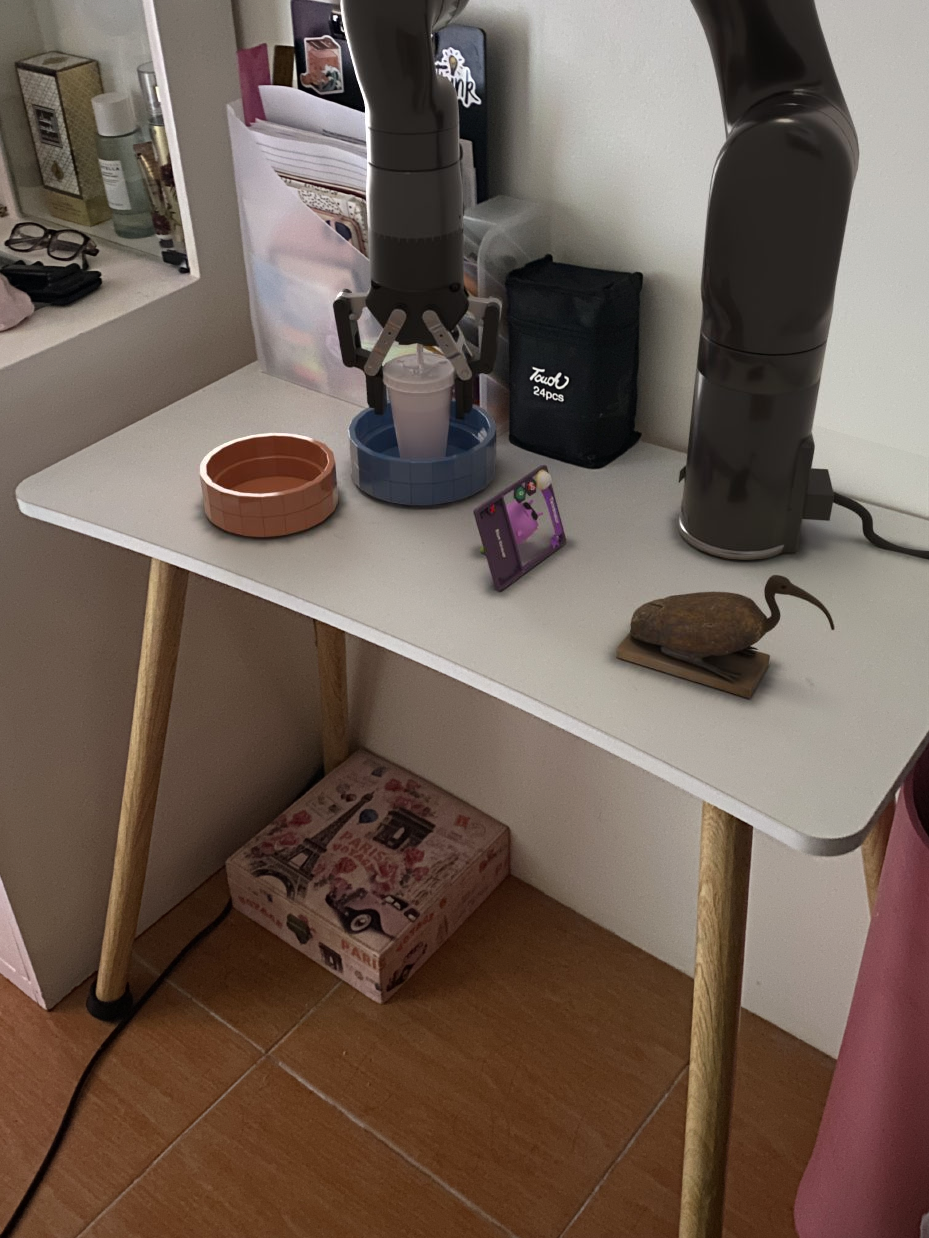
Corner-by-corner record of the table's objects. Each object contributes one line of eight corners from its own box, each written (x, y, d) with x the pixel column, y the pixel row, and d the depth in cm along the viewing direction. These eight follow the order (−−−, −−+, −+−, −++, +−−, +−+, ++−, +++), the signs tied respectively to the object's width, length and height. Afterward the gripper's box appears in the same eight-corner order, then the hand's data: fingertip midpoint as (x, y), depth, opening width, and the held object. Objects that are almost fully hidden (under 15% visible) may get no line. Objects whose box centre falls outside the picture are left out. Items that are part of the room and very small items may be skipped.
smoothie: (462, 453, 111) (460, 304, 103) (455, 488, 106) (452, 334, 97) (392, 450, 111) (385, 302, 103) (382, 485, 106) (373, 332, 98)
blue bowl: (502, 443, 113) (503, 398, 111) (486, 513, 103) (487, 466, 100) (366, 436, 115) (364, 392, 112) (337, 505, 104) (334, 458, 102)
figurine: (829, 681, 84) (851, 576, 79) (810, 719, 81) (832, 611, 76) (639, 625, 90) (648, 523, 84) (615, 658, 86) (622, 554, 81)
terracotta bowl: (349, 476, 108) (346, 436, 106) (321, 543, 99) (318, 500, 97) (227, 470, 110) (221, 429, 107) (188, 535, 100) (181, 492, 98)
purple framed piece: (483, 510, 90) (553, 464, 96) (433, 510, 94) (503, 465, 99) (507, 591, 93) (574, 542, 98) (457, 588, 96) (524, 540, 102)
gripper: (314, 231, 93) (330, 429, 103) (501, 237, 92) (499, 437, 102) (335, 201, 99) (348, 391, 109) (511, 207, 98) (508, 398, 108)
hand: (421, 412), depth 105 cm, fingers closed on smoothie, 6 cm apart
